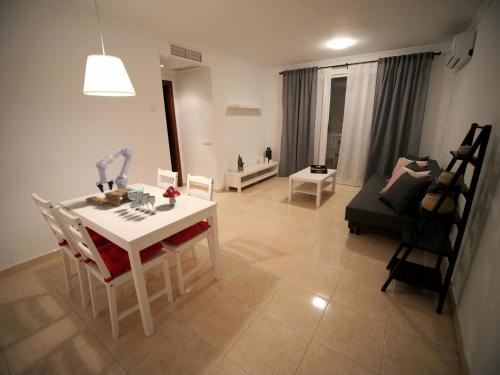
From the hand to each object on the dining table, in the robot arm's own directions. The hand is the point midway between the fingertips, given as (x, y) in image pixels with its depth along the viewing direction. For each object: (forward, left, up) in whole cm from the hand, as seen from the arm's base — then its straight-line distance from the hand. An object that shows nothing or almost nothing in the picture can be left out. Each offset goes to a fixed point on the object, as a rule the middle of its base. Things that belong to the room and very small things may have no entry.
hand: (106, 191), depth 192 cm
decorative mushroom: (-12, +59, -9) cm, 61 cm away
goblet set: (+6, +46, -9) cm, 47 cm away
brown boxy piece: (0, +16, -8) cm, 18 cm away
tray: (+9, -1, -8) cm, 12 cm away
